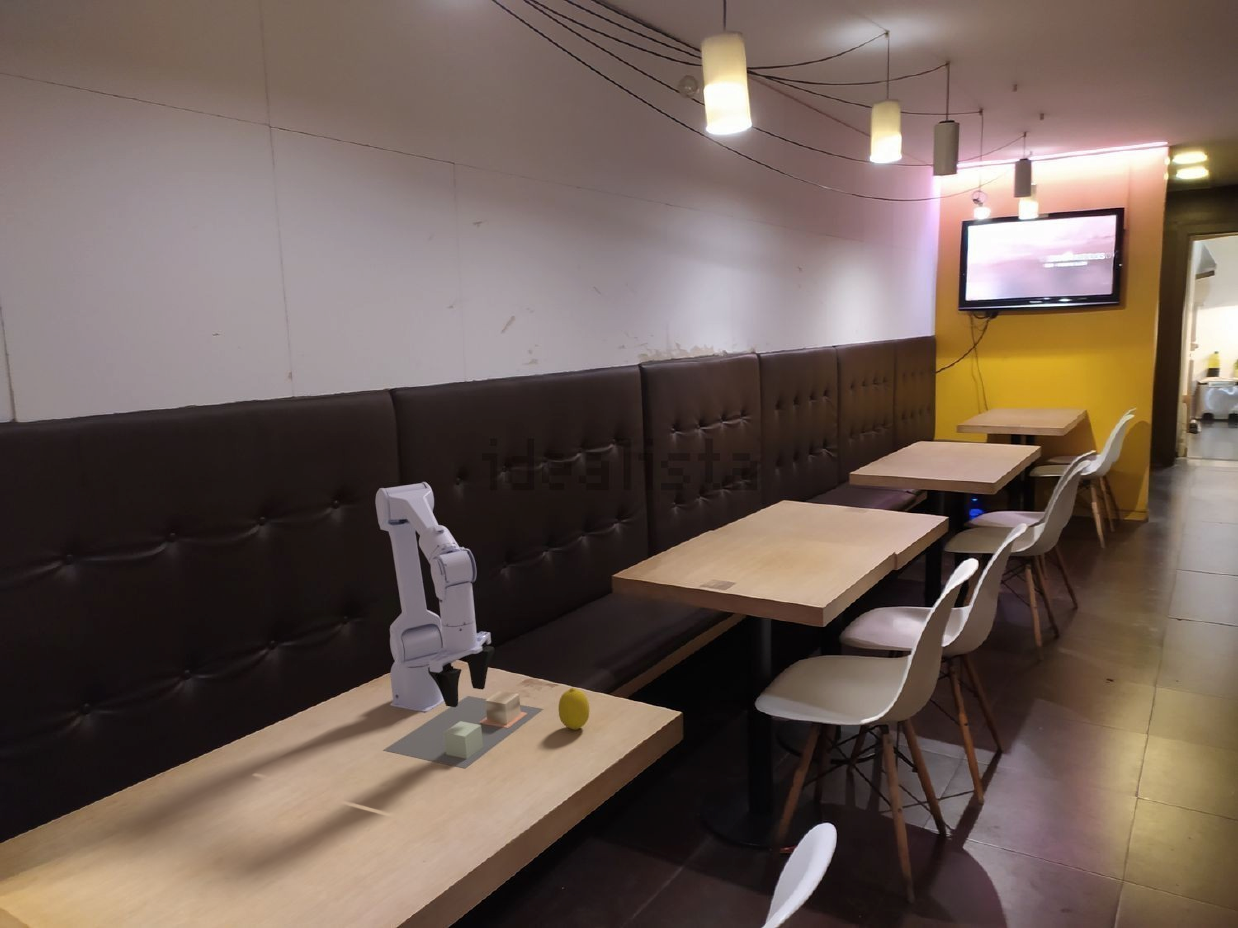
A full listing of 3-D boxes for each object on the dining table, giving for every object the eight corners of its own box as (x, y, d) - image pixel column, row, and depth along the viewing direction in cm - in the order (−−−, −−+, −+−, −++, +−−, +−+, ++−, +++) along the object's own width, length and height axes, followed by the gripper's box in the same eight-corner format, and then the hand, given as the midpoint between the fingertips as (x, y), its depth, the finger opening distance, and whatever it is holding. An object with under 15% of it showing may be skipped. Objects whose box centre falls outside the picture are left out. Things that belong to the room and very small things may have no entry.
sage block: (446, 754, 143) (443, 732, 143) (462, 742, 147) (460, 721, 147) (467, 758, 141) (464, 736, 141) (483, 746, 145) (481, 725, 145)
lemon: (555, 728, 151) (552, 686, 150) (583, 720, 154) (580, 679, 153) (566, 740, 146) (563, 697, 145) (595, 732, 149) (592, 689, 148)
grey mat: (383, 752, 146) (383, 749, 146) (468, 697, 167) (467, 695, 167) (465, 770, 138) (465, 767, 138) (543, 710, 159) (543, 708, 159)
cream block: (487, 720, 155) (485, 700, 155) (501, 710, 159) (499, 690, 158) (507, 724, 153) (505, 703, 152) (520, 714, 157) (519, 694, 156)
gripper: (450, 637, 134) (458, 717, 136) (502, 610, 147) (508, 683, 149) (416, 633, 138) (424, 711, 139) (469, 606, 150) (476, 678, 152)
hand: (465, 696), depth 144 cm, fingers open, 7 cm apart
